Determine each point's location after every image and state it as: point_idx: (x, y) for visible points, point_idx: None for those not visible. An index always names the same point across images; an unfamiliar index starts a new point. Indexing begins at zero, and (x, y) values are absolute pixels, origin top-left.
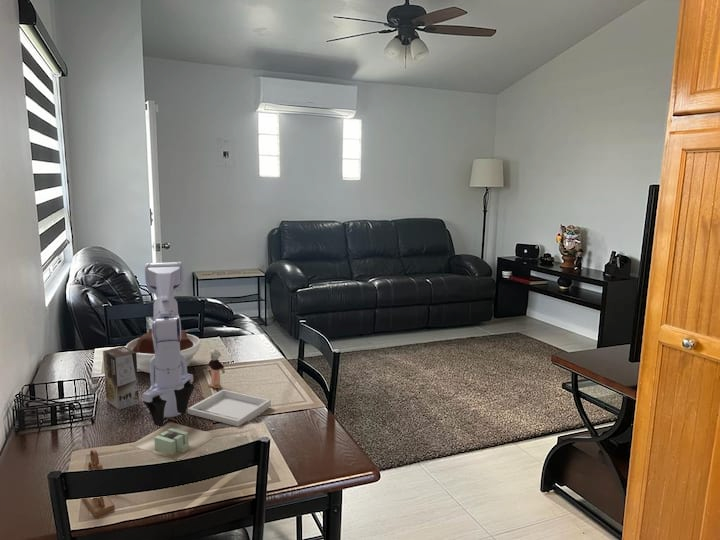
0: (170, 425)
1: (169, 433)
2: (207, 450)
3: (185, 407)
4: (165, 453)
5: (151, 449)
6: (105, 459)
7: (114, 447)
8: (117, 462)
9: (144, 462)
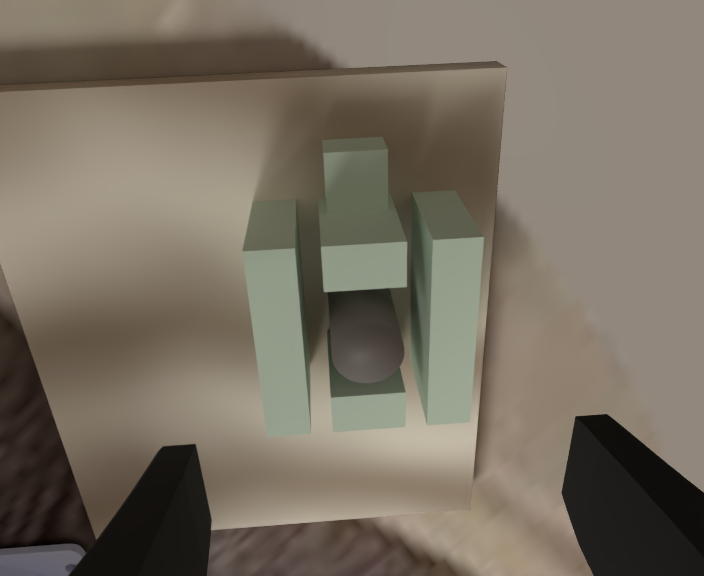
0: None
1: (377, 366)
2: (185, 3)
3: (160, 505)
4: None
5: None
6: None
7: (486, 554)
8: None
9: (567, 305)
